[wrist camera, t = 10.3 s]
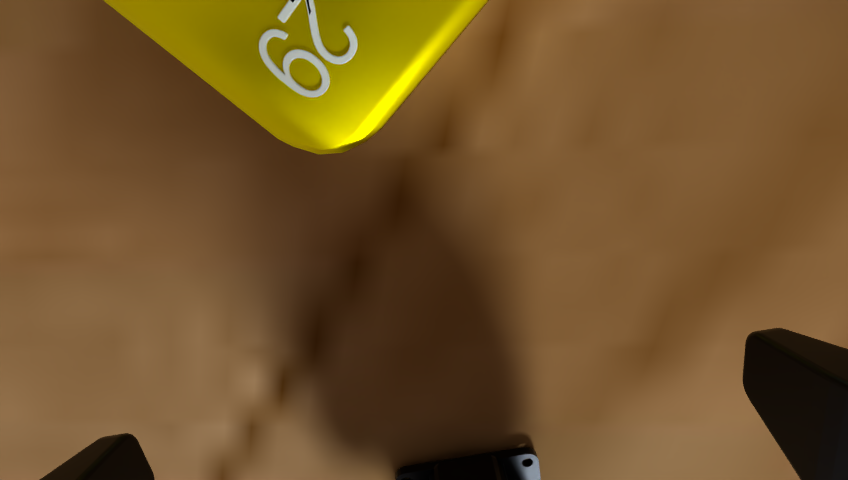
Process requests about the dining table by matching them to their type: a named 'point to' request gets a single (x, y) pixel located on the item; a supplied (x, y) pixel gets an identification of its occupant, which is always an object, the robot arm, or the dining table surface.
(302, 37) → the element tile
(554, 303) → the dining table surface
